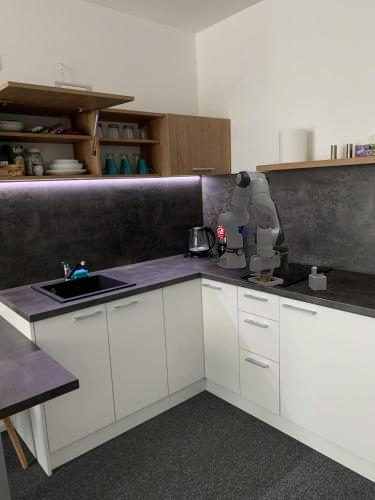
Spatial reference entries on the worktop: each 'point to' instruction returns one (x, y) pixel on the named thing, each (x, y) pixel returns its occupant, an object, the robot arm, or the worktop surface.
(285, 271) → the coffee jar
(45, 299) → the worktop surface
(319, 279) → the medicine bottle
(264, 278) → the collar
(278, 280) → the tray
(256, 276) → the stake
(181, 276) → the worktop surface
